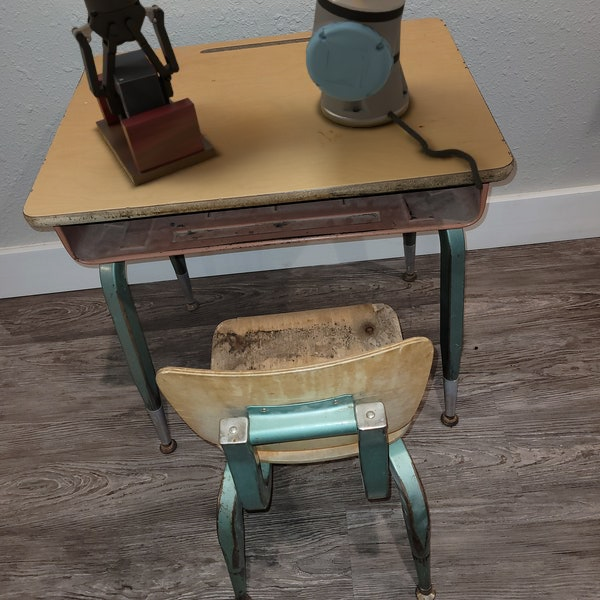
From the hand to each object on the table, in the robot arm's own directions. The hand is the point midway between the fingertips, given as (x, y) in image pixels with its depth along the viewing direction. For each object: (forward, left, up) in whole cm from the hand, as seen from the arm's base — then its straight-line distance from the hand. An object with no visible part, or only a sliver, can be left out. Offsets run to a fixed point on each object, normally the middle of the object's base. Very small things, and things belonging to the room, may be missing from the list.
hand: (148, 123), depth 99 cm
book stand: (0, 0, -4) cm, 4 cm away
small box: (0, 0, -1) cm, 1 cm away
